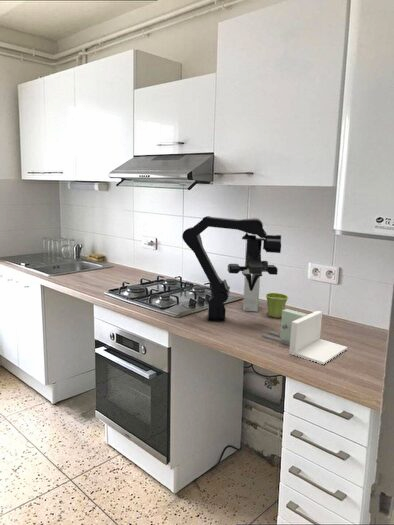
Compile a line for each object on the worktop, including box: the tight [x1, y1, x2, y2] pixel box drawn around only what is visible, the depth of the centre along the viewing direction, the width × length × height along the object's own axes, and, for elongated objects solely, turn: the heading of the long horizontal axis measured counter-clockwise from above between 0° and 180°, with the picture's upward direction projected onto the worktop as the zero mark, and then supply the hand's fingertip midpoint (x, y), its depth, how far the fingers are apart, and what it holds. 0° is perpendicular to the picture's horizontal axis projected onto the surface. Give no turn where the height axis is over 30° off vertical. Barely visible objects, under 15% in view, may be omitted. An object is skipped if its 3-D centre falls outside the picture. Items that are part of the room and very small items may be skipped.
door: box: [279, 308, 308, 343], centre depth 144 cm, size 8×4×11 cm, turn 48°
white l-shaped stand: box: [261, 310, 348, 365], centre depth 143 cm, size 27×18×11 cm, turn 48°
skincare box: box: [243, 274, 261, 312], centre depth 182 cm, size 8×7×16 cm
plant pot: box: [265, 292, 289, 319], centre depth 175 cm, size 9×9×9 cm
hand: (250, 290), depth 163 cm, fingers closed
